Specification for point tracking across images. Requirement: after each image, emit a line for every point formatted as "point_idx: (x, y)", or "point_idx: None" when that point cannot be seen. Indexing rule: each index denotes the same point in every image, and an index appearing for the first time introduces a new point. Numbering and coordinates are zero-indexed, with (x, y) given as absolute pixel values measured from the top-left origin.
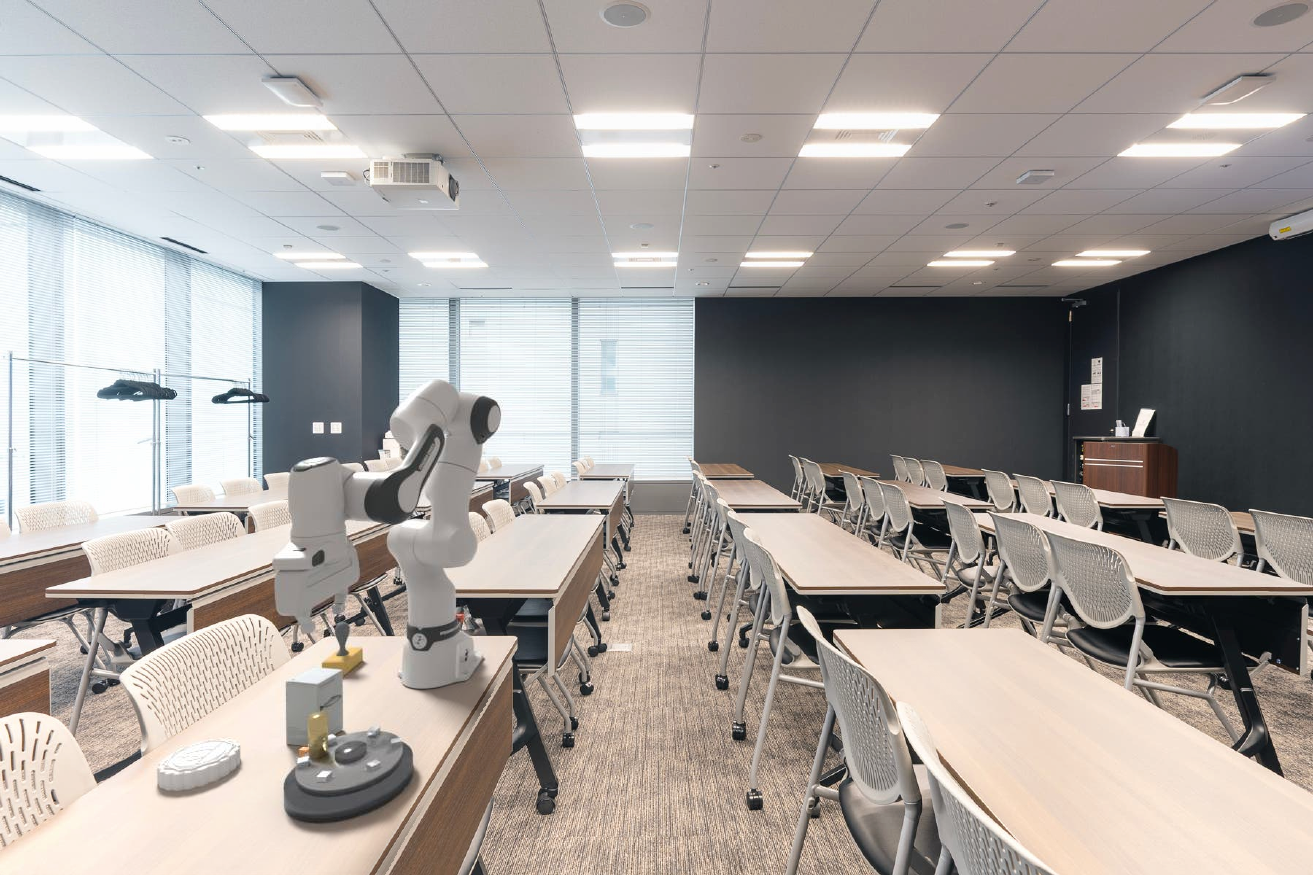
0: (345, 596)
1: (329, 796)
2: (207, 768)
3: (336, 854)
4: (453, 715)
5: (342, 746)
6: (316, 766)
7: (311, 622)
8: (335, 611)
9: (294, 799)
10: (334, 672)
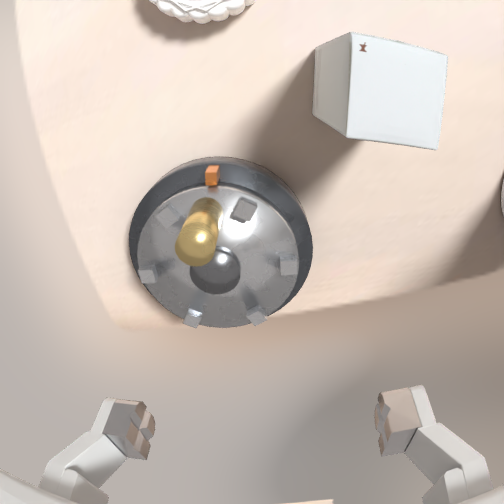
0: (428, 476)
1: None
2: (168, 11)
3: (115, 300)
4: (418, 278)
5: (217, 257)
6: (173, 236)
7: (118, 459)
8: (381, 410)
9: (131, 230)
10: (420, 138)
